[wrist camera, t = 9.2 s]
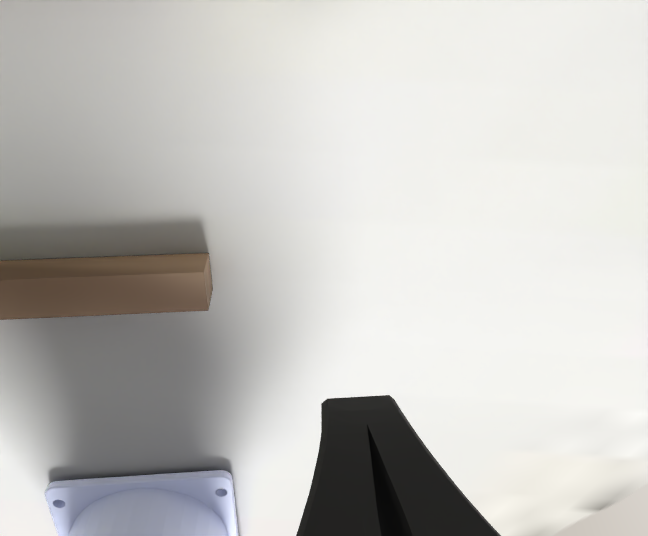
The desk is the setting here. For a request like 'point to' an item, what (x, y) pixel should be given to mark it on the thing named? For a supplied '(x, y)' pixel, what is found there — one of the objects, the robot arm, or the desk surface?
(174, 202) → the desk surface
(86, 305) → the level stand
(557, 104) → the desk surface
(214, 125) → the desk surface
